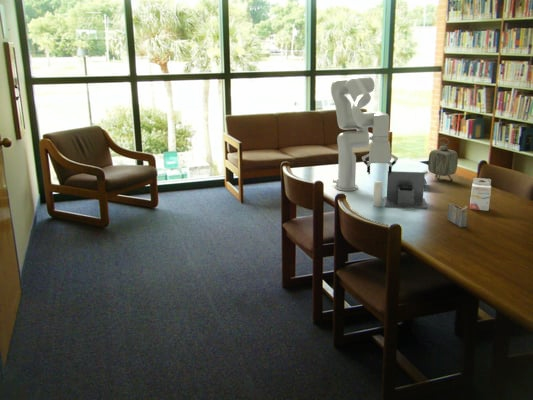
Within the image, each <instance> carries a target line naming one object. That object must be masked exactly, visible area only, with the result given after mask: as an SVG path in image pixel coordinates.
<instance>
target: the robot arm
mask: <svg viewBox="0 0 533 400" xmlns="http://www.w3.org/2000/svg"><path fill="white" fill-rule="evenodd" d="M375 87H376V85H375V81H374V79H373V78H372V77H371V76H368V75H367V76H366V75H365V76H352V77H347V78H345V77H343V78H337V79H335V80H333V81H332V83H331V86H330V93H331V97H332V100H333V102H334V105H335V112H336V121H337V125H338V127H339V129H341V130H344V132H340V133H339V134H338V135H337V138H336V140H337V141H336V142H337V149H338V171H337V172H338V173H337V175H338V176H337V178H333V180H332V183H334V184H335V183H336V184H335V187H334V188H335V189H336V190H339V191H345V192H346V191H348V192H349V191H352V192H353V191H356V190H358V188H359V186H358V184H356V173H357V172H356V171H357V165H356V164H357V156H356V154H355V152H354V151H353V150H356V149H366V148H367V147H368V146H369V153H367V154H365V155H363V156H361V159H362V161H363V164H365V165H366V173H368V175H371V164H387V165H388V171H389V172H388V171H387V175H388V174H389V175H390V173H392V169H393V167H394V165H395V164H396V163H397V162H398V160H399V157H398V156H396V155H394V154H392V153H391V151H392V150H391V142H389V132H390V131H389V129H390V115H389V114H388V113H385V112H382V111H377V110H376V111H362V110H361V109H362V108H364V107H365V106H367V105H368V104H369V103H370V101H371V98H372V97H371V94H370V93H372V92H374V89H375ZM346 95H350V97H351V98H352V100H353V102H354V103H353V104H352V102H351V101H350V99H349V98H348V97H347V96H346ZM369 128H372V136H370V135H369V134H370V133H369ZM345 130H349V131H345ZM350 130H351V131H350ZM353 130H354V131H353ZM355 130H356V131H355ZM370 141H371V142H370ZM367 158H368V161H367V160H366V159H367ZM391 159H393V161H392V162H391Z"/></svg>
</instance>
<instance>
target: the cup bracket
mask: <svg viewBox="0 0 533 400" xmlns="http://www.w3.org/2000/svg"><path fill="white" fill-rule="evenodd" d="M388 172H389V170H387V180H386V181H387V182H386V183H387V184H386V196H384V199H383V200H384V208H398V209H401V208H402V209H418V210H419V209H420V210H421V209H423V210H427V208H428V206H427V201H426V199H425V198H424V191H425V190H424V189H425V188H424V187H425V185H424V178H426V176H425V172H424V171H421V172H419V171H397V170H396V171H392V173H390V175H389V174H388Z"/></svg>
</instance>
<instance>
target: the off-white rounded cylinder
mask: <svg viewBox="0 0 533 400" xmlns="http://www.w3.org/2000/svg"><path fill="white" fill-rule="evenodd" d="M382 193H383V181H380V180H376V181H373V195H372V196H373V197H372V198H373V201H372V205H373V207H378V208H379V207H381V206H382V199H383V198H382V197H383V195H382Z"/></svg>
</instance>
